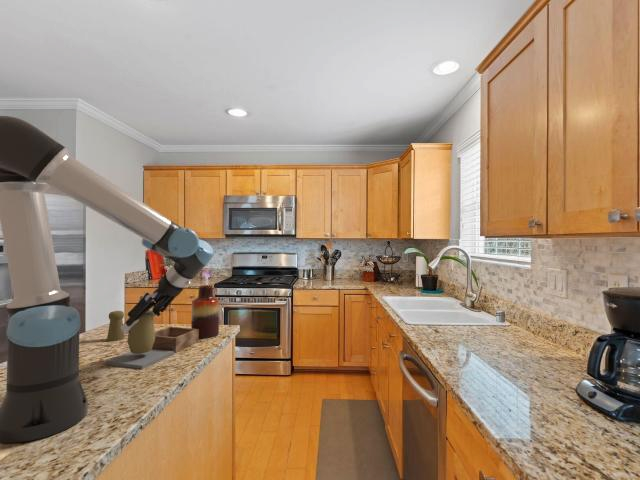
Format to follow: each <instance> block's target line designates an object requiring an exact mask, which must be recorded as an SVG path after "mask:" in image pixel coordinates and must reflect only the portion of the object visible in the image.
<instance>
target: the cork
mask: <svg viewBox="0 0 640 480" xmlns="http://www.w3.org/2000/svg"><path fill="white" fill-rule="evenodd" d="M124 317H125V313H124V312H123V311H122V310H113V311H111V312H110V313H109V314H108V319H109V324H108V325H109V326H108V332H107V337H106V342H119V341H123V340H125V339H126V336H125V333H124V332H123V331H122V329H121V328H120V327H121V326H122V325H123V324H124V323H123V321H124V320H123V319H124ZM124 338H125V339H124ZM122 339H123V340H122ZM118 340H119V341H118Z"/></svg>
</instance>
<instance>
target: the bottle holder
mask: <svg viewBox="0 0 640 480" xmlns="http://www.w3.org/2000/svg"><path fill="white" fill-rule="evenodd" d="M199 340H200V339H199V329H191V328H190V327H189V328H188V327H178V326H177V327H176V326H175V327H174V326H169V327H166V328H163V329H160V330H155V341H154V344H153V346H152V349H157V350H166V351H174V354H175V353H178V352H180V351H182V350H184V349H186V348H189V347H192V346H193V345H196V344H198V343H199V342H200V341H199Z"/></svg>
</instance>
